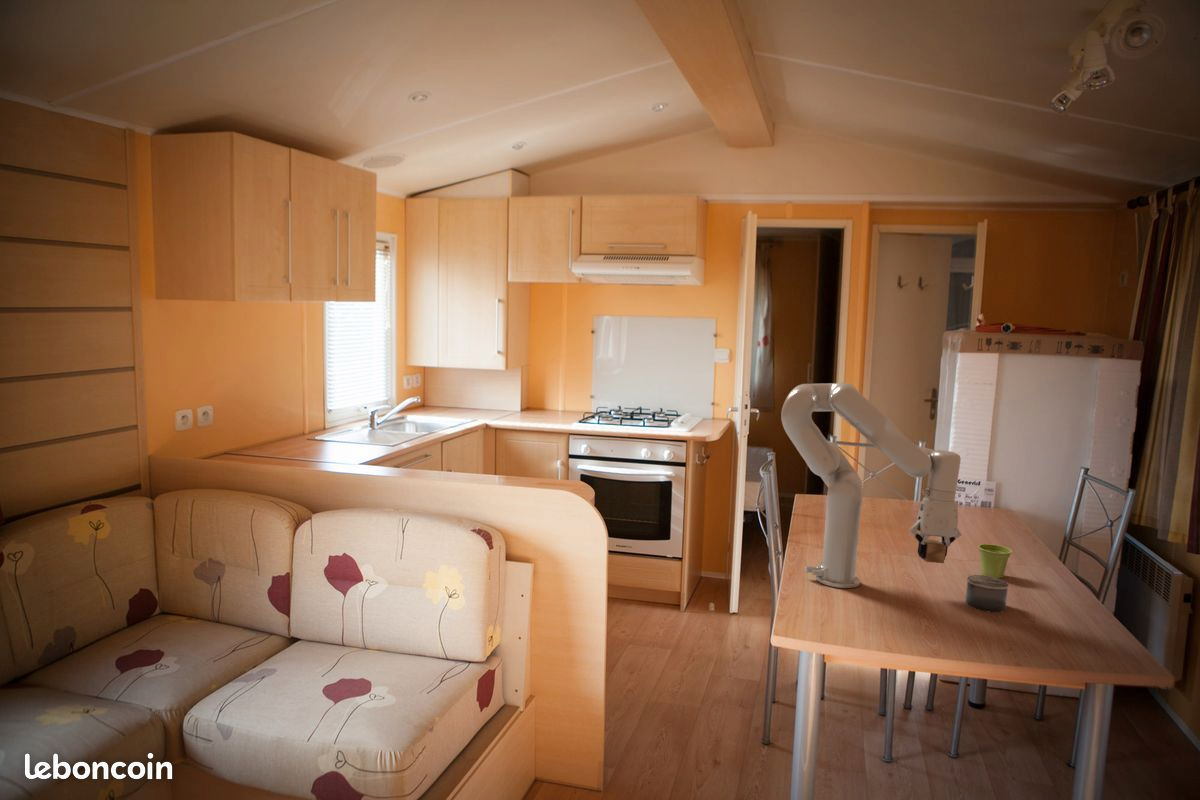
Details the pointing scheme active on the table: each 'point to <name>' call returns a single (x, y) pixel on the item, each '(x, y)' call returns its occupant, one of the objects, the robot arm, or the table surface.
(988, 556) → the plant pot
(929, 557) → the walnut block
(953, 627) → the table surface
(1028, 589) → the table surface
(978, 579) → the black tin
